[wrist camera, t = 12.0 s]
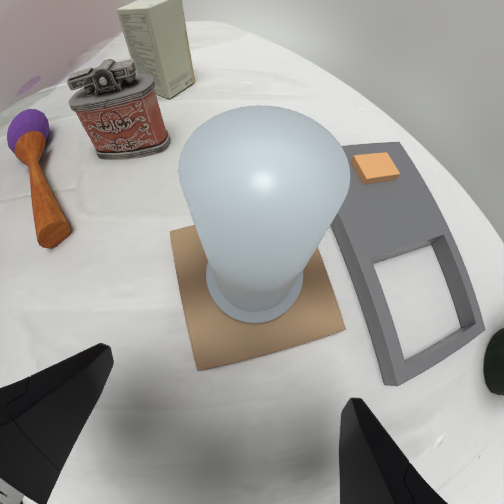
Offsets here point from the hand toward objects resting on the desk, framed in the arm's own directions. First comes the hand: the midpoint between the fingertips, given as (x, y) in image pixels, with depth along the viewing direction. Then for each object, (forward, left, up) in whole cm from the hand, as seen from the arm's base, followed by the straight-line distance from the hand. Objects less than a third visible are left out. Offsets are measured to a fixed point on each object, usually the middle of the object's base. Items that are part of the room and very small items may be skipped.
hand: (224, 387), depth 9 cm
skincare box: (+32, +1, -9) cm, 33 cm away
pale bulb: (+6, -3, -8) cm, 10 cm away
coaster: (+6, -3, -9) cm, 11 cm away
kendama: (+22, +16, -9) cm, 29 cm away
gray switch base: (+5, -15, -9) cm, 18 cm away
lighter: (+22, +5, -9) cm, 24 cm away
